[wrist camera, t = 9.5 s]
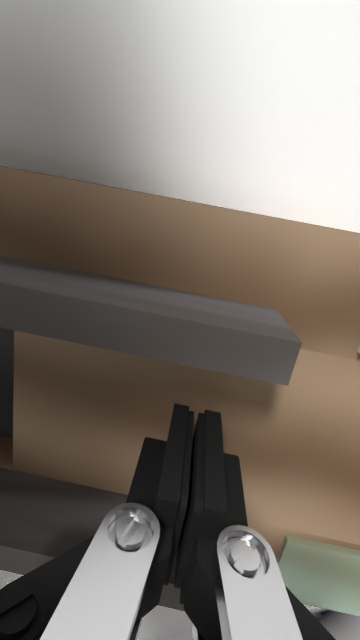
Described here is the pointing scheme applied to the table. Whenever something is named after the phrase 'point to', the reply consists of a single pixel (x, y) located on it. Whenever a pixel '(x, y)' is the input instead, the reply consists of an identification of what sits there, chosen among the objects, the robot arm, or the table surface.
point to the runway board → (177, 368)
